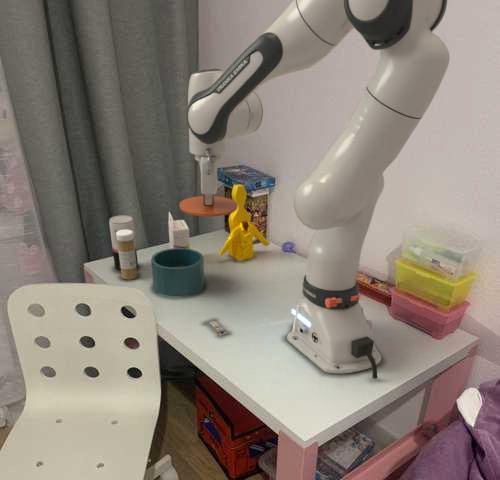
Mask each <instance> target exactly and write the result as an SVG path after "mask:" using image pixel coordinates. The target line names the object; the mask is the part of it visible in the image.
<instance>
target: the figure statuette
mask: <svg viewBox="0 0 500 480" xmlns="http://www.w3.org/2000/svg"><path fill="white" fill-rule="evenodd" d="M232 186H233V187H232V191H231V200H233V201H235V202H236V203H237V210H236V211H234V212H233V213H230V214H229V217H228V226H229V230H230V231H229V236H228V238H227V239H226V241H225V243H224V245H223V246H222V248H221V250H220V251H219V254H218V255H220V256H223V255H224V254H225V253H226V252H227V251H228V254H229V256H231V257H232V258H233V259H235V260H237V261H245V260H250V259H252V258H254V257H255V256H254V255H255V254H254V244H253V242H254V241H253V239H254V237H255V238H256V239H257V240H258V241H259V242H260V243H261V244H262V245H264V246H265V247H266V246H270V245H271V244H270V242H269V241H268V239H267V238H265V236H264V235H263V234H262V233H261V232H260V231H259V229H258V228H257V227H256V225H255V224H254V223H251V222H252V217H251V215H250V214H249V212H248V211H247V209H246V208H245V203H246V200H247V196H248V195H247V194H248V193H247V190H246V188H245V185H243V184H239V183H238V184H233V185H232Z"/></svg>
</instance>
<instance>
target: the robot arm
mask: <svg viewBox="0 0 500 480" xmlns="http://www.w3.org/2000/svg"><path fill="white" fill-rule="evenodd" d="M447 5H448V0H292V1H291V2H290V4H288V6H287V7H286V8H285V10H284V11H283V12H282V13H281V14H280V15H279V16H278V18H276V20H275V21H273V22H272V24H271V25H269V27H268V28H266V30H265V31H264V32H262V33H261V35H260V36H258V37H257V38H256V39H255V40H254V41H253V42H252V43H251V44H250V45H249V46H247V48H246V49H244V51H243V52H242V53H240V55H239V56H238V57H237V58H236V59H235V60H234V61H233V62H232V63H231V65H229V67H227V69H226V70H225V71H224V70H223V69H220V68H209V69H200V70H197V71H194V72H193V73H192V74H191V75H190V77H189V81H188V87H187V109H186V122H187V125H188V146H189V153H190V154H192V155H194V160H195V161H197V162H199V170H200V193H201V194H202V195H203V194H204V195H205V204H206V205H212V197H213V195H214V196H215V195H217V193H218V164H217V163H218V162H220V161H222V155H225V154H227V140H230V139H234V138H239V137H242V136H245V135H249V134H252V133H254V132H256V131H257V130H259V128H260V126H261V124H262V121H263V116H264V109H263V104H262V101H261V99H260V97H259V95H257V93H256V90H257V89H259V88H260V87H261V86H262V85H264V84H265V83H268V82H269V81H271V80H273V79H275V78H278V77H281V76H284V75H287V74H291V73H296V72H299V71H304V70H307V69H310V68H311V67H313V66H315V65H316V64H318V63H320V62H321V61H322V60H324V59H325V58H326V57H327V56H329V55H330V54H331V53H332V52H333V51H334V50H335V49H336V48H337V47H338V46H339V45H340V43H342V42H343V40H345V38H346V37H347V36H348V35H349V34H350V33H351V32H352V31H353V30H354V29H355V31H357V32H358V33H359V34H360V35H361V37H362V38H363V39H364V40H365V42H366V44H367V45H368V46H369V48H370V49H372V50H374V51H380V53H379V55H380V56H379V60H378V64H377V66H376V68H375V70H374V72H373V75H371V78H370V80H369V81H368V83H367V85H366V87H365V88H364V90H363V93H362V94H361V96H360V97H359V100H358V102H357V104H356V105H355V107H354V109H353V111H352V113H351V114H350V117H349V118H348V120H347V122H346V124H345V125H344V127H343V129H342V130H341V131H340V133H339V135H338V136H337V137H336V138H335V140H334V141H333V142H332V143H331V145H330V146H329V148H328V149H327V150H326V151H325V153H324V155H323V156H322V157H321V158H320V160H319V161H318V163H317V164H316V166H315V167H314V169H313V170H312V171H311V173H310V174H309V175H308V177H307V178H306V179H305V180H304V181H303V182H302V183H301V184H300V185H299V186H298V187H297V189H296V191H295V193H294V196H293V208H294V212H295V215H296V217H297V219H298V220H299V222H300V223H302V224H303V225H304V226H305V227H306V228H309V229H311V230H314V233H313V236H312V237H311V239H310V241H309V244H308V248H307V249H308V250H307V260H306V261H307V262H306V272H305V275H304V276H303V281H302V297H301V299H300V301H299V302H298V304H297V305H296V307H295V309H294V308H291V314H293V316H294V317H293V318H294V319H293V323H292V330H291V331H289V332H288V334H287V337H286V340H287V342H289V343H290V344H291V345H292V346H293V347H294V348H296V349H297V350H298V351H299V352H300V353H302V354H303V355H304V356H305V357H307V358H308V359H309V360H310V361H311V362H312V363H314V364H315V365H316V366H317V367H318V368H319V369H321V370H322V371H323V372H324V373H329V374H339V375H340V374H350V373H357V372H362V371H366V370H369V369H371V372H372V379H378V367H377V365H379V364H380V363H381V362H382V355H381V354H380V352H379V351H378V349H377V348H376V346H375V345H374V343H375V341H374V340H373V332H372V330H373V321H372V320H371V319H367V318H366V316H365V314H364V308H363V307H361V305H360V302H359V301H361V300H362V298H360V297H362V294H360V287H359V282H358V275H359V268H360V267H359V266H360V261H361V255H362V250H363V246H364V242H365V240H366V237H367V233H368V231H369V227H370V224H371V222H372V219H373V216H374V212H375V208H376V206H377V203H378V201H379V199H380V196H381V195H382V193H383V191H384V187H385V176H384V172H385V171H386V170H387V168H388V167H390V165H391V164H392V163H393V162H394V161H395V160H396V159H397V157H398V156H399V155H400V153H401V151H402V150H403V148H404V146H405V145H406V143H407V142H408V140H409V139H410V137H411V136H412V134H413V133H414V131H415V129H416V128H417V127H418V125H419V123H420V122H421V120H422V118H423V117H424V115H425V114H426V112H427V111H428V109H429V107H430V105H431V103H432V102H433V100H434V98H435V96H436V94H437V92H438V90H439V88H440V86H441V83H442V81H443V79H444V78H445V75H446V72H447V70H448V67H449V64H450V51H449V49H448V47H447V45H446V44H445V42H444V41H443V40H442V38H440V37H439V36H438V35H436V34H435V33H433V32H434V31H435V30H436V28H437V27H438V26H439V24H441V22H442V20H443V18H444V16H445V14H446V10H447Z"/></svg>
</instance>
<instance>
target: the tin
mask: <svg viewBox="0 0 500 480" xmlns="http://www.w3.org/2000/svg"><path fill="white" fill-rule="evenodd" d="M150 261H151V272H152V285H153V290H154V292H155V293H156V294H160V295H162V296H167V297H176V298H177V297H187V296H188V297H189V296H191V295H194V294H197V293H199V292H201V291H202V290H203V288H205V266H204V263H205V262H204V256H203V253H201V252H199V251H198V250H195V249H192V248H190V249H186V248H172V249H170V248H167V249H163V250H159V251H157V252H155V253H154V254H153V255H152V256H151V260H150ZM184 265H185V267H180V268H171V267H175V266H184Z"/></svg>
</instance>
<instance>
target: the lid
mask: <svg viewBox="0 0 500 480" xmlns="http://www.w3.org/2000/svg"><path fill="white" fill-rule="evenodd" d="M178 205H179V209H180V210H181V211H182V212H184V214H185V213H186V214H188V215H192V216H197V217H221V216H227V215H231V213H233V212H234V211H236V210H237V203H236V202H235V201H233V199H232V198H227V197H224V196H219V195H215V194H214V195H213V197H212V205H206V204H205V195H204V194H202V195H199V196H192V197H187V198H185V199H183V200H181V201H180V202H179V204H178Z"/></svg>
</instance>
